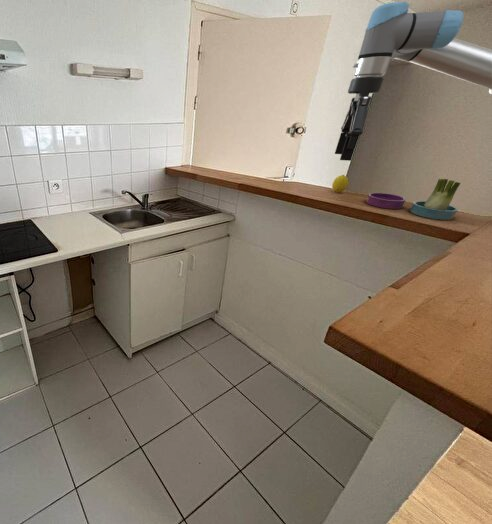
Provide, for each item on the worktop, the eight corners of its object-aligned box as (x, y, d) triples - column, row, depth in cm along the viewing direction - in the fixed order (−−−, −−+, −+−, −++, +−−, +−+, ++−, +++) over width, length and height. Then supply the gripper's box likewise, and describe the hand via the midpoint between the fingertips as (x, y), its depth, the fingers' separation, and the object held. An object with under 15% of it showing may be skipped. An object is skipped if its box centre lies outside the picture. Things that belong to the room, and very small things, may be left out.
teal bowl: (444, 212, 101) (449, 203, 99) (458, 223, 92) (464, 213, 90) (405, 208, 105) (409, 199, 103) (415, 218, 96) (420, 208, 95)
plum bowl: (397, 203, 111) (401, 194, 109) (406, 211, 102) (410, 202, 100) (363, 200, 115) (366, 191, 113) (368, 207, 106) (372, 198, 105)
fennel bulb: (445, 217, 95) (464, 181, 90) (428, 216, 96) (446, 181, 90) (433, 211, 100) (451, 177, 94) (417, 211, 101) (434, 177, 95)
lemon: (344, 192, 125) (351, 174, 121) (343, 195, 121) (350, 176, 117) (330, 191, 127) (336, 172, 124) (329, 193, 124) (335, 175, 120)
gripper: (345, 80, 90) (325, 151, 100) (360, 73, 70) (332, 162, 81) (374, 79, 87) (349, 152, 98) (397, 72, 68) (364, 164, 78)
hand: (342, 157), depth 89 cm, fingers open, 13 cm apart
